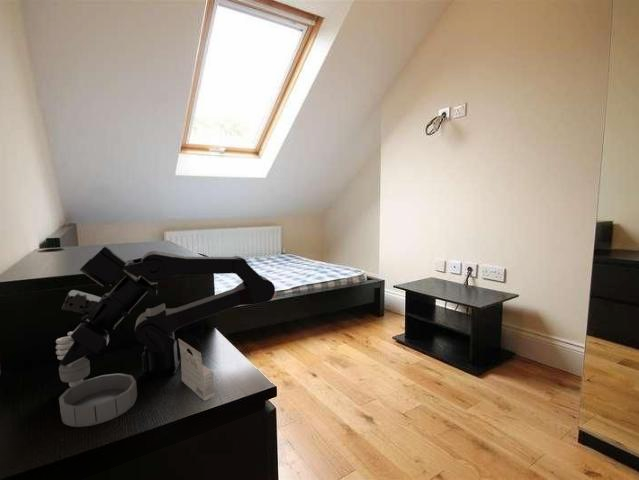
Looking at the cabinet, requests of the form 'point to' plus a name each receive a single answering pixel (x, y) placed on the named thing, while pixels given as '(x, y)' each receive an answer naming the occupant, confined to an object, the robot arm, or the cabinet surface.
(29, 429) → the cabinet surface
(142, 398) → the cabinet surface
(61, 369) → the light bulb
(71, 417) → the bowl
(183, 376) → the ink cartridge box
